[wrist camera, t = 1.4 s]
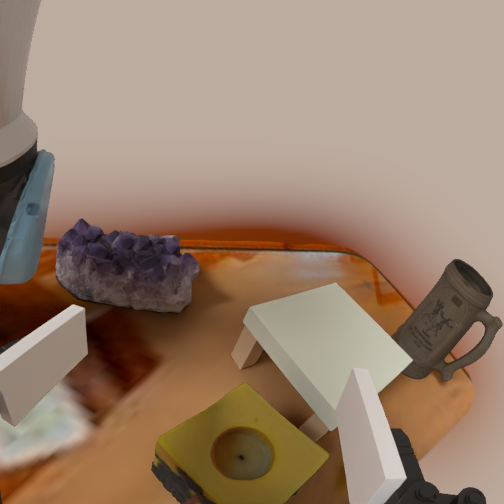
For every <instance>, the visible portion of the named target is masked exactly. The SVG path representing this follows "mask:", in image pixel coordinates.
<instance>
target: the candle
mask: <svg viewBox="0 0 504 504" xmlns="http://www.w3.org/2000/svg"><path fill="white" fill-rule="evenodd" d="M155 456H156V457H155V461H154V462H152V468H151V470H152V471H153V473H154V474H155V476H156V477H157V478H158V480H159V481H160V482H162V483H163V486H164V487H165V488H166V489H167V490H168V491H169V492H171V493H172V495H173V497H175V498H176V499H177V501H178V502H180V504H284V503H285V502H286V501H287V500H288V499H289V498H290V497H292V496H293V495H295V494H296V493H297V490H298V489H299V488H300V487H301V486H302V485H303V484H304V483H305V482H306V481H307V480H308V479H309V478H310V477H311V476H312V475H313V474H314V473H315V472H316V471H317V470H318V469H319V468H320V467H321V466H322V465H323V464H324V463H325V462H326V460H327V459H328V458H329V453H328V452H327V451H325V450H324V449H323V448H322V447H320V446H319V445H318V444H316V443H315V442H314V441H313V440H311V439H310V438H309V437H308V436H306V435H305V434H304V433H303V432H301V431H300V430H299V429H298V428H296V427H295V426H294V425H293V424H292V423H290V422H289V421H288V420H287V419H286V418H285V417H283V416H282V415H281V414H280V413H279V412H278V411H277V410H276V409H274V408H273V407H272V406H271V405H270V404H269V403H268V402H267V401H266V400H265V399H264V398H263V397H262V396H261V395H260V394H259V393H258V392H257V391H256V390H255V389H253V388H252V387H251V386H250V385H249V384H248V383H246V382H245V383H243V384H242V385H240V386H239V387H237V388H236V389H234V390H233V391H231V392H230V393H228V394H227V395H225V396H224V397H223V398H222V399H220V400H219V401H218V402H216V403H215V404H213V405H212V406H211V407H209V408H208V409H206V410H205V411H203V412H201V413H199V414H198V415H196V416H194V417H192V418H190V419H188V420H187V421H185V422H183V423H182V424H180V425H179V426H177V427H175V428H173V429H172V430H170V431H168V432H166V433H165V434H163V435H161V436H160V437H159V438H158V440H157V442H156V447H155Z"/></svg>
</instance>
